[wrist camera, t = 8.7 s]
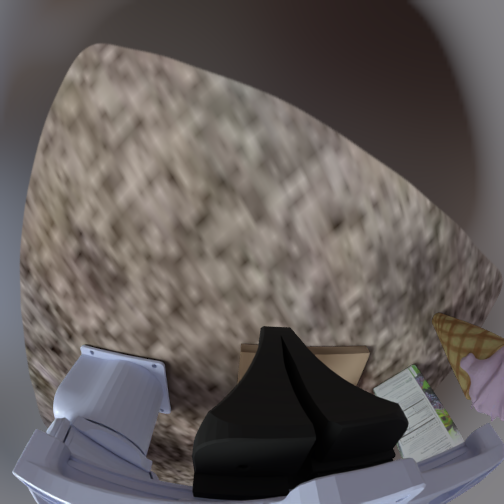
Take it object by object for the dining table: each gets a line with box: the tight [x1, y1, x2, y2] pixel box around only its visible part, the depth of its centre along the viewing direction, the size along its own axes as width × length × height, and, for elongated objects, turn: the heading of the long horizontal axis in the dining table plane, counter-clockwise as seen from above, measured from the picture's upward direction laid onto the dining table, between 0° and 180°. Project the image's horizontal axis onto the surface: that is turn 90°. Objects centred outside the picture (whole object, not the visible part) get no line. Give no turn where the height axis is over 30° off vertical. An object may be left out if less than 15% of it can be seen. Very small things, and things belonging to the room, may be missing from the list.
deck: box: [237, 344, 370, 386], centre depth 26 cm, size 12×27×1 cm, turn 174°
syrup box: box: [373, 365, 465, 463], centre depth 19 cm, size 6×6×14 cm
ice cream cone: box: [432, 313, 504, 421], centre depth 16 cm, size 7×6×15 cm
